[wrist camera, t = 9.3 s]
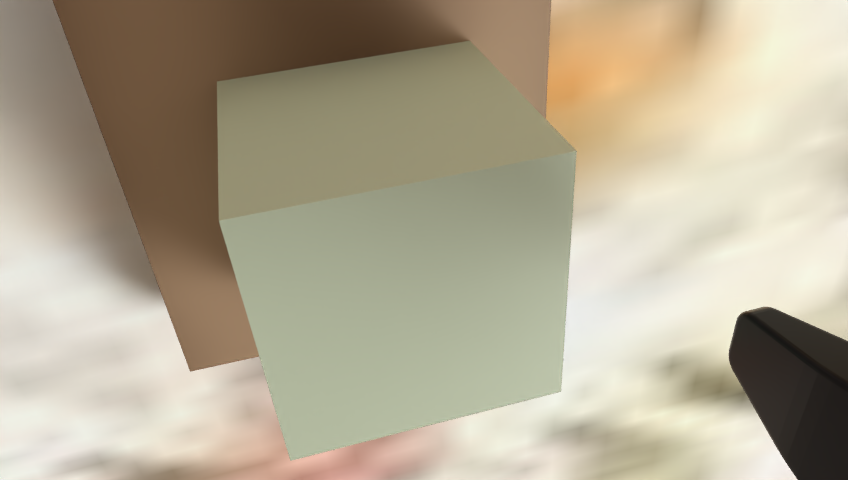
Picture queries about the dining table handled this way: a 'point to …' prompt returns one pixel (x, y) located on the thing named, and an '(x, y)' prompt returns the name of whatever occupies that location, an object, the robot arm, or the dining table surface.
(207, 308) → the walnut block
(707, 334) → the dining table surface
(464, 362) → the sage cube
